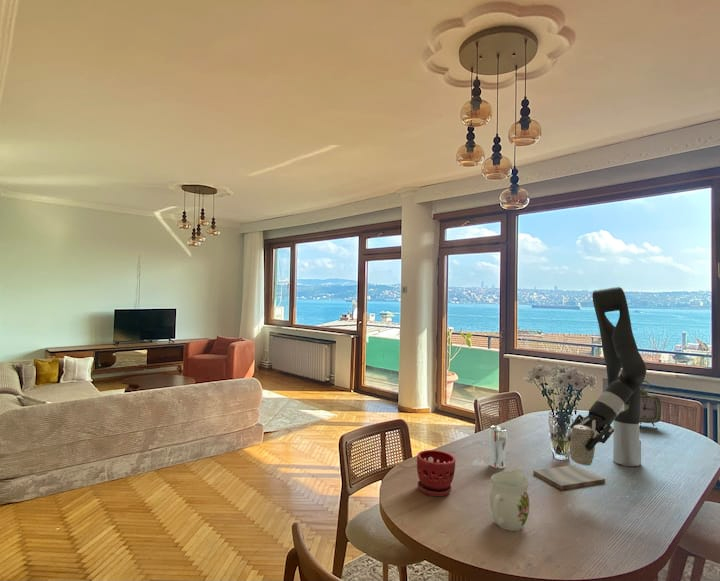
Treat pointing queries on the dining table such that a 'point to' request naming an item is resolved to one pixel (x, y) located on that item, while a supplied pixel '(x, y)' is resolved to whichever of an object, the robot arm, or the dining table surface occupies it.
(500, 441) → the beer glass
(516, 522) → the pitcher
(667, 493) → the dining table surface
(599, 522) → the dining table surface
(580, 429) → the carving
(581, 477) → the walnut board
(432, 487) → the plant pot
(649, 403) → the tabletop clock
